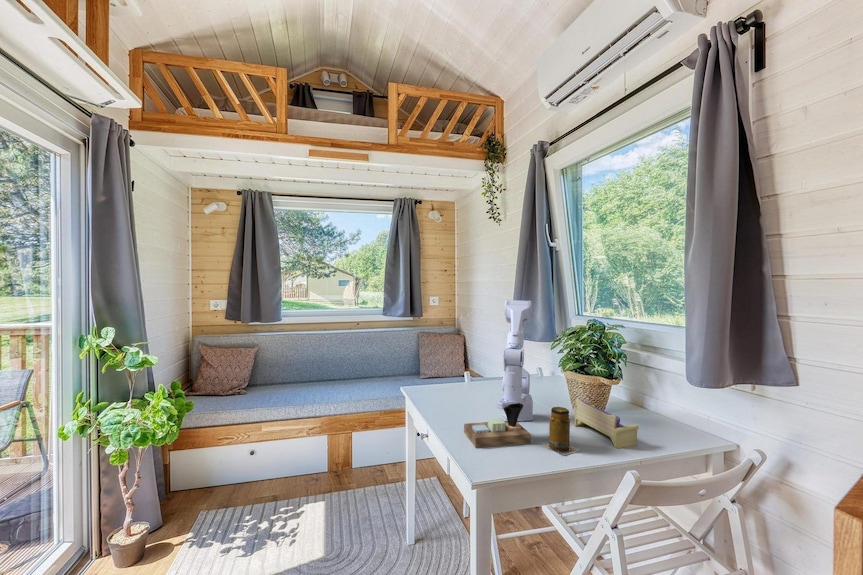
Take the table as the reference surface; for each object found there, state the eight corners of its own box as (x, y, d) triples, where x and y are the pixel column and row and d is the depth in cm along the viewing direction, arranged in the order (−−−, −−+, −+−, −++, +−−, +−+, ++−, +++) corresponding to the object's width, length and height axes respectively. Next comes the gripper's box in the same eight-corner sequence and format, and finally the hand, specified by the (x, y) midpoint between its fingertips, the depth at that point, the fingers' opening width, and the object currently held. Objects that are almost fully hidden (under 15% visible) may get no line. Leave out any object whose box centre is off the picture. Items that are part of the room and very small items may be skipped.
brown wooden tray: (514, 428, 139) (514, 420, 139) (530, 443, 127) (530, 433, 127) (463, 432, 135) (464, 423, 135) (475, 447, 123) (475, 438, 123)
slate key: (484, 434, 132) (484, 424, 132) (489, 440, 128) (489, 429, 128) (471, 435, 131) (471, 425, 131) (476, 441, 127) (476, 430, 127)
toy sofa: (639, 446, 126) (640, 414, 126) (617, 450, 123) (618, 417, 123) (592, 422, 146) (593, 395, 146) (572, 425, 143) (573, 397, 143)
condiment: (558, 440, 129) (559, 404, 129) (580, 450, 122) (581, 412, 122) (542, 445, 125) (543, 408, 125) (564, 456, 118) (565, 416, 118)
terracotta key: (515, 432, 135) (515, 422, 134) (521, 437, 130) (521, 427, 130) (503, 433, 134) (503, 423, 134) (508, 438, 129) (508, 428, 129)
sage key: (500, 428, 133) (500, 418, 133) (505, 433, 129) (505, 423, 129) (487, 429, 132) (487, 419, 132) (492, 434, 128) (492, 424, 128)
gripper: (515, 378, 139) (514, 417, 140) (489, 386, 129) (488, 427, 130) (532, 382, 134) (531, 422, 135) (508, 391, 124) (507, 434, 125)
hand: (512, 425), depth 132 cm, fingers closed, pressing on terracotta key
